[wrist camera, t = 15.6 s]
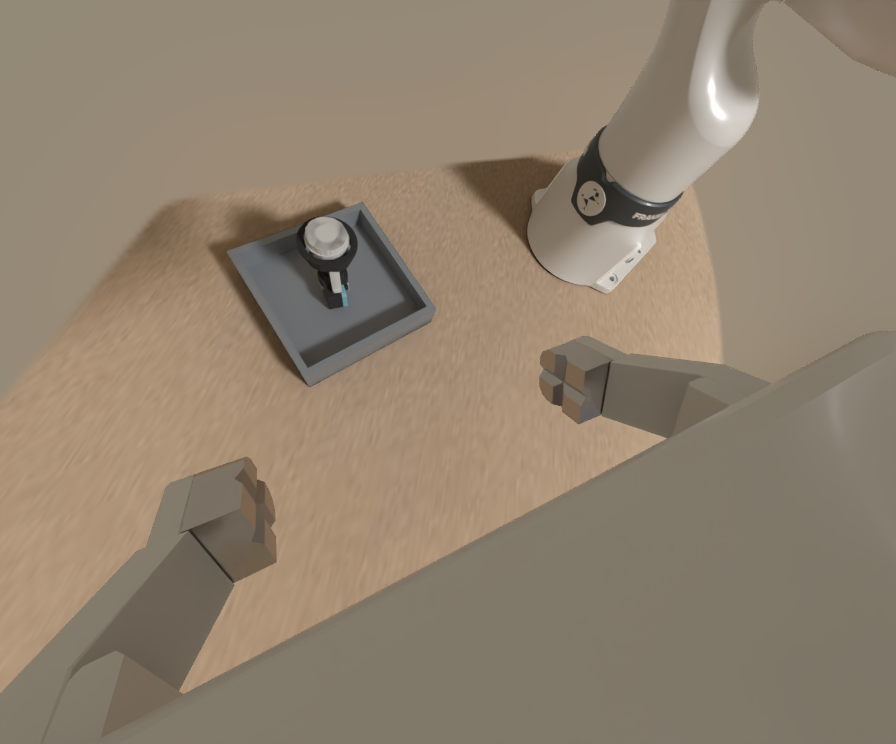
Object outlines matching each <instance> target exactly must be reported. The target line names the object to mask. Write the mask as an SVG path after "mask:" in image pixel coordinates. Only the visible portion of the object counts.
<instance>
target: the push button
mask: <svg viewBox="0 0 896 744" xmlns="http://www.w3.org/2000/svg"><path fill="white" fill-rule="evenodd" d="M296 244H297V248H298V250H299V252H300V254H301V255H302V257H303V258H304V259H305V260H306V261H307V262H308V263H309V265H310V266H311V267H312V268H314V269H316V270H318V271H317V274H318V279H319V282H320V286H321V290H322V294H323V289H324V290H325V294H326V298H327V302H328V306H329V309H335V308H340V307H345V306H348V302H347V295H346V291H345V290H349V283H348V272H347V269H346V268H348V266H349V265H350V263H351V262H352V260H353V258H354V257H355V255H356V252H357V248H358V241H357V237H356V234H355V232H354V231H353V229H352V228H351V227H350V226H349V225H348V224H347V223H345V222H344V221H342V220H340V219H337V218H334V217H328V216H320V217H315V218H312V219H310V220H308V221H306V222H305V223H304V224H303V225H302V226H301V227H300V228H299V230H298V232H297V235H296ZM349 244H350V246H351V247H350V250H349V251H348V246H349ZM306 246H307V247H308V249H309V252H308V251H307V250H306Z"/></svg>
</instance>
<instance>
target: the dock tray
mask: <svg viewBox="0 0 896 744" xmlns="http://www.w3.org/2000/svg"><path fill="white" fill-rule="evenodd" d="M325 216H328V217H334V218H337V219H340V220H342V221H344V222H345V223H347V224H348V225H349V226H350V227H351V228H352V229H353V231H354V232H355V234H356V237H357V241H358V248H357V252H356V255H355V257H354V258H353V260H352V262H351V263H350V265H349V266H348V268H346V269H347V272H348V283H349V290H345V291H346V295H347V302H348V306H345V307H340V308H335V309H329V306H328V302H327V298H326V294H325V290H324V289H323V294H322V290H321V286H320V282H319V279H318V274H317V271H318V270H316V269H314V268H312V267H311V266H310V265H309V263H308V262H307V261H306V260H305V259H304V258H303V257H302V255H301V254H300V252H299V250H298V248H297V244H296V235H297V232H298V230H299V228H300V227H301V226H302V225H303V224H304V223H303V224H300V225H298V226H295V227H292V228H289V229H287V230H284V231H281V232H278V233H275V234H273V235H270V236H267V237H264V238H262V239H259V240H256V241H253V242H251V243H248V244H245V245H242V246H239V247H237V248H234V249H231V250H228V251H226V252H227V254H228V255H229V257H230V258H231V260H232V262H233V263H234V265H235V267H236V268H237V270H238V272H239V273H240V275H241V276H242V278H243V280H244V281H245V283H246V285H247V286H248V288H249V289H250V291H251V293H252V294H253V296H254V298H255V299H256V301H257V303H258V304H259V306H260V307H261V309H262V311H263V312H264V314H265V316H266V317H267V319H268V320H269V322H270V324H271V325H272V327H273V329H274V330H275V332H276V334H277V335H278V337H279V338H280V340H281V342H282V343H283V345H284V347H285V348H286V350H287V351H288V353H289V355H290V356H291V358H292V360H293V361H294V363H295V365H296V366H297V368H298V369H299V371H300V373H301V374H302V376H303V378H304V379H305V381H306V382H307V384H308V385H309V387H311V386H313V385H315V384H317V383H319V382H320V381H322V380H324V379H326V378H328V377H330V376H331V375H333V374H335V373H337V372H339V371H341V370H343V369H344V368H346V367H348V366H350V365H352V364H354V363H356V362H357V361H359V360H361V359H363V358H365V357H367V356H369V355H370V354H372V353H374V352H376V351H378V350H380V349H382V348H383V347H385V346H387V345H389V344H391V343H393V342H395V341H396V340H398V339H400V338H402V337H404V336H406V335H408V334H409V333H411V332H413V331H415V330H417V329H419V328H420V327H422V326H424V325H426V324H428V323H430V322H431V321H432V318H433V316H434V313H435V311H436V308H435V306H434V305H433V303H432V302H431V300H430V299H429V298H428V296H427V295H426V293H425V292H424V290H423V289H422V287H421V286H420V284H419V283H418V282H417V280H416V279H415V277H414V276H413V274H412V273H411V271H410V270H409V268H408V267H407V266H406V264H405V263H404V261H403V260H402V258H401V257H400V255H399V254H398V252H397V251H396V250H395V248H394V247H393V245H392V244H391V242H390V241H389V239H388V238H387V236H386V235H385V234H384V232H383V231H382V229H381V228H380V226H379V225H378V223H377V222H376V220H375V219H374V218H373V216H372V215H371V213H370V212H369V210H368V209H367V207H366V206H365V204H364V203H363V202H361V203H358V204H356V205H353V206H350V207H347V208H345V209H342V210H339V211H336V212H334V213H331V214H328V215H325ZM350 247H351V246H350V244H349V246H348V251H349V250H350ZM306 250H307V251H308V252H309V249H308V247H307V246H306Z"/></svg>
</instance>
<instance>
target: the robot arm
mask: <svg viewBox="0 0 896 744" xmlns="http://www.w3.org/2000/svg"><path fill="white" fill-rule="evenodd" d="M769 1H777V2H779V3H781V2H782V1H783V0H670V3H669V7H668V10H667V14H666V17H665V20H664V23H663V26H662V29H661V32H660V35H659V37H658V40H657V42H656V44H655V46H654V49H653V51H652V53H651V55H650V57H649V59H648V60H647V63H646V64H645V66H644V68H643V69H642V71H641V73H640V74H639V76H638V78H637V80H636V81H635V83H634V85H633V86H632V88H631V90H630V91H629V93H628V94H627V96H626V98H625V99H624V101H623V102H622V104H621V105H620V107H619V109H618V110H617V112H616V113H615V115H614V116H613V118H612V119H611V121H610V122H609V123H608V125H606V126H605V127H603V128H602V129H601V130H600V131H599V132H598V133H597V134H596V136H595V137H594V138H593V139H592V140H591V141H590V143H589V144H588V145H587V147H586V149H585V151H584V153H583V154H582V156H581V157H577V158H574V159H569V160H568V161H567V162H566V163H565V164H564V166H563V167H562V168H561V170H560V171H559V173H558V174H557V175H556V177H555V178H554V179H553V181H552V182H551V183H550V185H549V186H548V187H547V188H544V189H539V190H536V191H535V193H534V194H533V195H532V198H531V204H532V214H531V217H530V219H529V222H528V227H527V235H528V241H529V244H530V247H531V249H532V251H533V253H534V255H535V256H536V258H537V259H538V261H539V262H540V263H541V264H542V265H543V266H544V267H545V268H546V269H547V270H548V271H549V272H551V273H552V274H553V275H555V276H557V277H558V278H560V279H562V280H564V281H567V282H570V283H574V284H580V285H587V286H591V287H592V288H594V289H596V290H598V291H600V292H603V293H610V292H611V291H612V290H613V289H614V288H615V287H616V286H617V285H618V284H619V283H620V281H621V280H622V279H623V278H624V277H625V276H626V275H627V274H628V273H629V272H630V270H631V269H632V268H633V267H634V266H635V265H636V264H637V263H638V262H639V261H640V260H641V258H642V257H643V256H644V255H645V254H646V253H647V252H648V251H649V250H650V249H651V247H652V246H653V245H654V244H655V243H656V236H655V233H654V229H655V228H656V227H657V226H658V225H659V224H660V223H661V222H662V221H663V220H664V219H665V218H666V216H667V212H668V211H669V210H670V209H671V208H672V207H673V206H674V205H675V204H676V202H677V201H678V200H679V199H680V198H681V196H682V194H683V192H684V190H685V189H686V188H687V187H689V186H690V185H691V184H692V183H693V182H694V181H695V180H696V179H697V178H698V177H700V176H701V175H702V174H703V173H704V172H705V171H706V170H707V169H708V168H710V167H711V166H712V165H713V164H714V163H715V162H716V161H717V160H718V159H720V158H721V157H722V156H723V155H724V154H725V153H726V152H727V151H729V150H730V149H731V148H732V147H733V146H734V145H735V144H736V143H738V142H739V140H740V139H741V138H742V137H743V136H744V134H745V133H746V132H747V130H748V129H749V127H750V125H751V123H752V121H753V119H754V117H755V114H756V111H757V107H758V102H759V79H758V72H757V67H756V63H755V58H754V52H753V33H754V29H755V25H756V22H757V19H758V17H759V14H760V12H761V10H762V8H763V7H764V5H765V4H766V3H767V2H769ZM784 3H785V4H786V5H787V6H788V7H790V8H791V9H792V10H793V11H795V12H796V13H797V14H798V15H799V16H801V17H802V18H803V19H804V20H805V21H807V22H808V23H809V24H810V25H811V26H813V27H814V28H815V29H816V30H817V31H819V32H820V33H821V34H822V35H823V36H824V37H826V38H827V39H828V40H830V41H831V42H832V43H833V44H834V45H835V46H837V47H838V48H839V49H840V50H841V51H843V52H844V53H845V54H846V55H847V56H848V57H850V58H851V59H852V60H854V61H857V62H859V63H861V64H864V65H866V66H868V67H871V68H873V69H875V70H877V71H880V72H882V73H885V74H888V75H891V76H893V77H896V0H785V1H784ZM540 365H541V366H542V367H543V371H542V373H541V375H540V377H539V386H540V389H541V391H542V394H543V395H544V397H545V398H546V399H547V400H548V401H549V402H550V403H551V404H554V405H558V406H561V407H562V412H563V413H564V414H566V415H567V416H568V417H570V418H571V419H572V420H574V421H575V422H576V423H577V424H581V423H583V422H585V421H588V420H590V419H592V418H595V417H597V416H600V415H602V416H603V417H606V418H609V419H612V420H615V421H618V422H621V423H624V424H627V425H630V426H633V427H636V428H639V429H642V430H645V431H648V432H651V433H654V434H657V435H660V436H663V437H666V438H668V439H666V440H664V441H662V442H660V443H658V444H656V445H654V446H652V447H651V448H649V449H647V450H645V451H643V452H641V453H639V454H637V455H635V456H634V457H632V458H630V459H628V460H626V461H624V462H622V463H620V464H618V465H617V466H615V467H613V468H611V469H609V470H607V471H605V472H603V473H601V474H600V475H598V476H596V477H594V478H592V479H590V480H588V481H586V482H585V483H583V484H581V485H579V486H577V487H575V488H573V489H571V490H569V491H568V492H566V493H564V494H562V495H560V496H558V497H556V498H554V499H552V500H550V501H549V502H547V503H545V504H543V505H541V506H539V507H537V508H535V509H533V510H532V511H530V512H528V513H526V514H524V515H522V516H520V517H518V518H516V519H514V520H513V521H511V522H509V523H507V524H505V525H503V526H501V527H499V528H497V529H496V530H494V531H492V532H490V533H488V534H486V535H484V536H482V537H480V538H478V539H477V540H475V541H473V542H471V543H469V544H467V545H465V546H463V547H461V548H460V549H458V550H456V551H454V552H452V553H450V554H448V555H446V556H444V557H442V558H441V559H439V560H437V561H435V562H433V563H431V564H429V565H427V566H425V567H424V568H422V569H420V570H418V571H416V572H414V573H412V574H410V575H408V576H407V577H405V578H403V579H401V580H399V581H397V582H395V583H393V584H391V585H390V586H388V587H386V588H384V589H382V590H380V591H378V592H376V593H374V594H372V595H371V596H369V597H367V598H365V599H363V600H361V601H359V602H357V603H355V604H354V605H352V606H350V607H348V608H346V609H344V610H342V611H340V612H338V613H337V614H335V615H333V616H331V617H329V618H327V619H325V620H323V621H321V622H320V623H318V624H316V625H314V626H312V627H310V628H308V629H306V630H304V631H302V632H301V633H299V634H297V635H295V636H293V637H291V638H289V639H287V640H285V641H284V642H282V643H280V644H278V645H276V646H274V647H272V648H270V649H268V650H267V651H265V652H263V653H261V654H259V655H257V656H255V657H253V658H251V659H250V660H248V661H246V662H244V663H242V664H240V665H238V666H236V667H234V668H233V669H231V670H229V671H227V672H225V673H223V674H221V675H219V676H217V677H215V678H214V679H212V680H210V681H208V682H206V683H204V684H202V685H200V686H198V687H197V688H195V689H193V690H191V691H189V692H187V693H185V694H182V693H181V692H179V690H180V688H181V686H182V684H183V682H184V680H185V678H186V676H187V674H188V673H189V671H190V669H191V667H192V665H193V663H194V661H195V659H196V657H197V655H198V654H199V652H200V650H201V648H202V646H203V644H204V642H205V640H206V638H207V636H208V635H209V633H210V631H211V629H212V627H213V625H214V623H215V621H216V619H217V617H218V616H219V614H220V612H221V610H222V608H223V606H224V604H225V602H226V600H227V598H228V597H229V595H230V593H231V591H232V589H233V587H234V584H233V583H235V582H237V581H239V580H241V579H243V578H245V577H247V576H249V575H251V574H253V573H256V572H258V571H260V570H262V569H264V568H266V567H268V566H270V565H272V564H274V563H276V562H277V558H276V536H275V534H274V532H273V531H272V529H271V527H272V525H273V523H274V522H275V508H274V504H273V500H272V496H271V494H270V492H269V489H268V487H267V486H266V484H265V482H263V481H260V480H257V468H256V467H255V465H254V464H253V462H252V460H251V459H250V458H248V457H244V458H241V459H238V460H235V461H232V462H229V463H226V464H223V465H221V466H218V467H215V468H212V469H209V470H206V471H203V472H200V473H197V474H194V475H191V476H188V477H185V478H183V479H180V480H177V481H174V482H171V483H170V484H169V485H168V486H166V488H165V491H164V494H163V497H162V500H161V503H160V506H159V509H158V512H157V515H156V518H155V521H154V524H153V527H152V530H151V533H150V536H149V539H148V542H147V545H146V548H143V549H141V550H138V551H136V552H135V553H134V554H133V555H132V556H131V557H130V559H129V560H128V561H127V562H126V563H125V564H124V565H123V566H122V567H121V568H120V569H119V570H118V571H117V572H116V573H115V574H114V575H113V576H112V577H111V578H110V579H109V580H108V582H107V583H106V584H105V585H104V586H103V587H102V588H101V589H100V590H99V591H98V592H97V593H96V594H95V595H94V596H93V597H92V598H91V599H90V600H89V601H88V602H87V603H86V605H85V606H84V607H83V608H82V609H81V610H80V611H79V612H78V613H77V614H76V615H75V616H74V617H73V618H72V619H71V620H70V621H69V622H68V623H67V624H66V625H65V626H64V628H63V629H62V630H61V631H60V632H59V633H58V634H57V635H56V636H55V637H54V638H53V639H52V640H51V641H50V642H49V643H48V644H47V645H46V646H45V647H44V648H43V649H42V651H41V652H40V653H39V654H38V655H37V656H36V657H35V658H34V659H33V660H32V661H31V662H30V663H29V664H28V665H27V666H26V667H25V668H24V669H23V670H22V671H21V672H20V673H19V675H18V676H17V677H16V678H15V679H14V680H13V681H12V682H11V683H10V684H9V685H8V686H7V687H6V688H5V689H4V690H3V691H2V692H1V693H0V744H896V331H877V332H872V333H869V334H865V335H863V336H861V337H858V338H856V339H855V340H853V341H851V342H849V343H847V344H845V345H843V346H841V347H840V348H838V349H836V350H834V351H832V352H830V353H828V354H826V355H825V356H823V357H821V358H819V359H817V360H815V361H814V362H812V363H810V364H808V365H806V366H804V367H802V368H800V369H798V370H796V371H795V372H793V373H791V374H789V375H787V376H785V377H783V378H781V379H779V380H777V381H776V382H774V383H772V384H771V383H769V382H767V381H764V380H761V379H759V378H756V377H754V376H751V375H749V374H746V373H744V372H741V371H739V370H736V369H734V368H731V367H729V366H726V365H722V364H714V363H706V362H698V361H689V360H681V359H673V358H665V357H657V356H648V355H640V354H629V355H627V354H625V353H623V352H621V351H619V350H617V349H614V348H612V347H610V346H608V345H606V344H604V343H602V342H600V341H597V340H595V339H593V338H591V337H589V336H582V337H579V338H576V339H574V340H571V341H569V342H567V343H565V344H562V345H559V346H557V347H554V348H551V349H548V350H546V351H543V352H542V354H541V357H540Z"/></svg>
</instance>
